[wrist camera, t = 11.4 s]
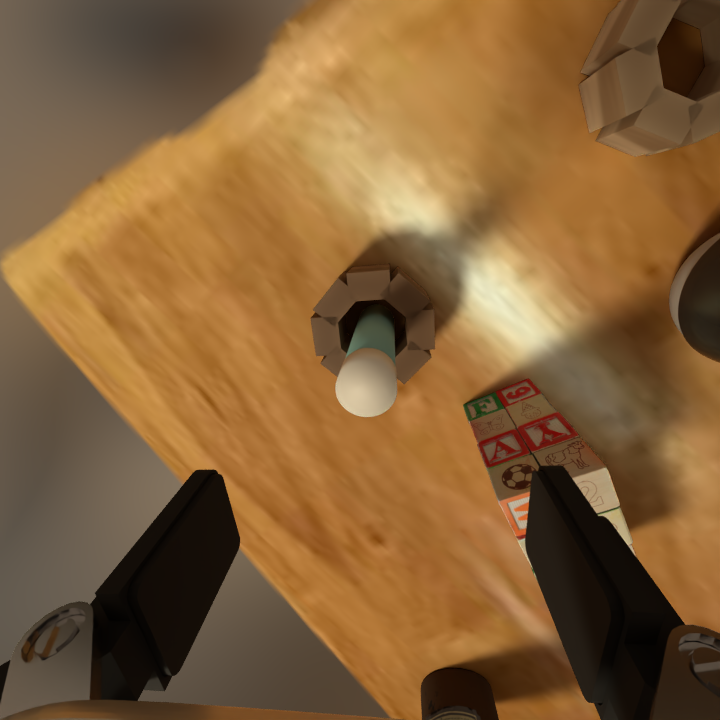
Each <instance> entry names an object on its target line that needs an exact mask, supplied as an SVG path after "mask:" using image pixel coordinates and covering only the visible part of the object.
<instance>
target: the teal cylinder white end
mask: <svg viewBox="0 0 720 720" xmlns="http://www.w3.org/2000/svg"><path fill="white" fill-rule="evenodd" d="M336 395H337V398H338V400H339V402H340V404H341V405H342V406H343V407H344V408H345V409H346V410H347V411H349V412H350V413H352V414H355V415H357V416H362V417H373V416H377V415H380V414H382V413H384V412H385V411H387V410H388V409H389V408H390V407H391V406H392V404H393V403H394V401H395V399H396V395H397V373H396V367H395V330H394V317H393V314H392V312H391V311H390V310H389V309H388V308H387V307H385V306H383V305H379V304H374V305H370V306H368V307H366V308H365V309H364V310H363V311H362V313H361V314H360V317H359V320H358V323H357V326H356V329H355V332H354V334H353V337H352V340H351V343H350V346H349V349H348V352H347V355H346V358H345V360H344V362H343V364H342V367H341V370H340V373H339V375H338V378H337V381H336Z"/></svg>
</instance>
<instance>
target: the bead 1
mask: <svg viewBox="0 0 720 720" xmlns="http://www.w3.org/2000/svg"><path fill="white" fill-rule="evenodd" d="M380 299H385V300H386V301H387V302H388V303H390V304H391V305H392V306H393V307H394V308H395V309H397V310H398V311H399V312H400V313H401V314H402V315H404V316H405V331H404V332H403V333H402V334H401V335H400V336H399V337H398V338H397V339H396V340H395V367H396V373H397V379H399V380H400V381H401V382H402V383H403V384H405V383H406V382H407V381H408V380H409V379H410V378H411V377H412V376H413V375H414V374H415V373H416V372H417V371H418V370H419V369H420V368H421V367H422V366H423V365H424V364H425V363H426V362H427V361H428V360H429V359H430V358H431V354H430V349H435V324H434V308H433V306H432V304H431V302H430V299H429V297H428V295H427V293H426V291H425V290H424V289H423V288H421V287H420V286H419V285H418V284H417V283H416V282H415V281H414V280H412V279H411V278H410V277H409V276H408V275H407V274H406V273H405V272H403V271H402V270H401V269H400V268H399V267H398V266H397V268H396V269H395V270H394V271H393V272H392V273H391V275H390V264H380V265H368V266H356V267H352V268H351V269H350V270H349V271H348V272H346V271H344V272H343V273H342V274H341V275H340V276H339V277H338V279H337V280H336V281H335V282H334V284H333V285H332V286H331V287H330V289H329V290H328V291H327V292H326V294H325V295H324V296H323V298H322V299H321V300H320V301H319V303H318V304H317V305H316V306H315V308H314V309H313V310H314V311H315V314H314V315H313V316H312V317H311V325H312V331H313V338H314V345H315V352H316V356H324V357H323V359H322V361H321V364H322V365H323V366H324V367H326V368H327V369H328V370H330V371H331V372H332V373H333V374H335V375H336V376H337V377H338V375H339V373H340V370H341V367H342V364H343V362H344V360H345V358H346V355H347V352H348V349H349V346H350V343H351V340H352V337H351V336H350V335H349V334H347V327H346V318H345V313H346V312H347V311H348V310H349V309H350V308H351V306H352V305H353V304H354V303H355V302H356V301H367V300H380Z"/></svg>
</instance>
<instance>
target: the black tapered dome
mask: <svg viewBox="0 0 720 720" xmlns="http://www.w3.org/2000/svg"><path fill="white" fill-rule="evenodd" d="M669 307H670V312H671V316H672V319H673V321H674V323H675V325H676V326H677V328H678V330H679V331H680V332H681V333H682V334H683V336H684V338H685V339H686V341H687V342H688V343H689V345H690V346H691V347H692V348H693V349H695V350H696V351H697V352H698V353H700V354H702V355H703V356H705V357H707V358H709V359H712V360H714V361H716V362H719V363H720V233H719V234H717V235H715V236H713V237H712V238H710V239H709V240H707V241H706V242H705V243H703V244H702V245H701V246H699V247H698V248H697V249H696V250H695V251H694V252H693V253H692V254H691V255H690V256H689V257H688V258H687V259H686V260H685V262H684V263H683V264H682V266H681V267H680V269H679V270H678V272H677V274H676V276H675V278H674V280H673V283H672V286H671V289H670V295H669Z"/></svg>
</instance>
